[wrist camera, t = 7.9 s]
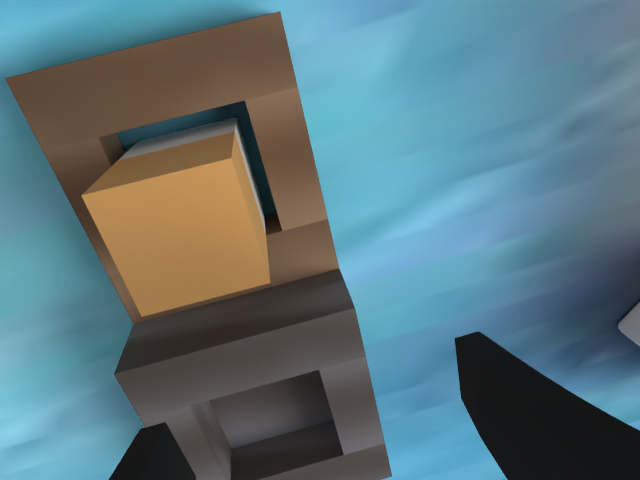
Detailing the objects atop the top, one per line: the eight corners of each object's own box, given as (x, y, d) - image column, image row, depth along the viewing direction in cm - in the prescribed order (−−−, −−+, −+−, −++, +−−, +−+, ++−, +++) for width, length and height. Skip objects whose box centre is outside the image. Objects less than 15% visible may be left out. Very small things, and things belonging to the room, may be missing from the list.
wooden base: (365, 396, 25) (392, 476, 20) (213, 440, 24) (206, 530, 20) (276, 14, 16) (288, 5, 11) (33, 73, 15) (-55, 88, 11)
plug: (263, 207, 19) (270, 283, 13) (174, 229, 19) (141, 316, 13) (236, 116, 17) (231, 158, 11) (137, 141, 17) (81, 195, 11)
